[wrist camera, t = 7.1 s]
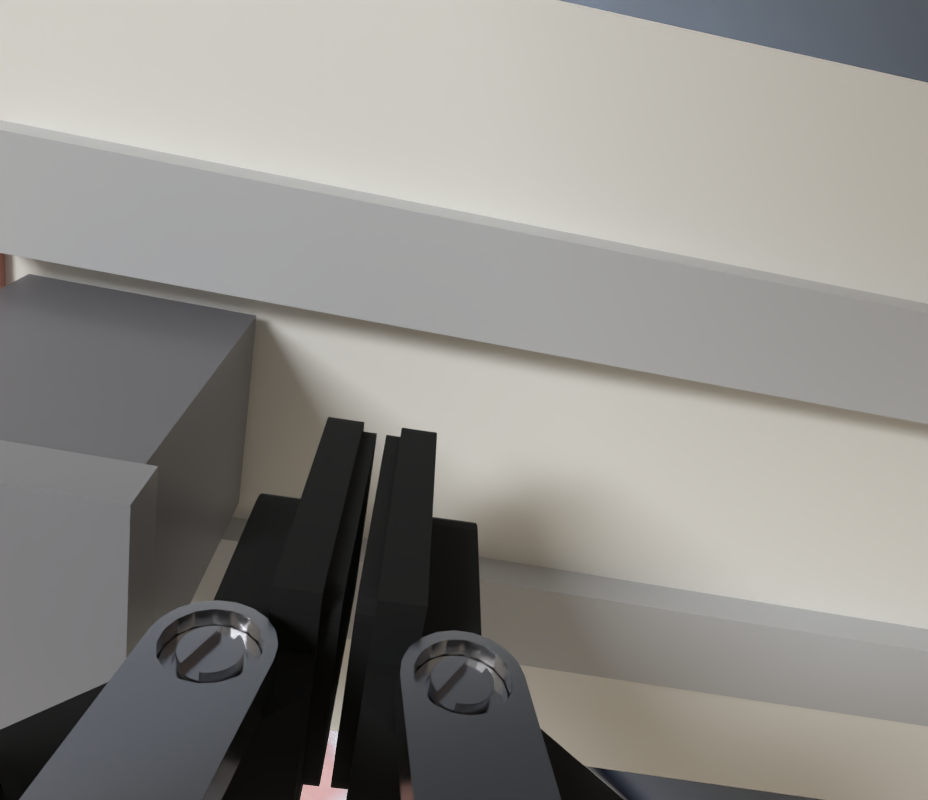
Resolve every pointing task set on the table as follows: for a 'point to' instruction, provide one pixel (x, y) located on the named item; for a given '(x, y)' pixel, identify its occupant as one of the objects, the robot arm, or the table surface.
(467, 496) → the slider rail board
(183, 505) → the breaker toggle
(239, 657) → the robot arm
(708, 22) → the table surface
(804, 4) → the table surface
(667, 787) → the table surface
